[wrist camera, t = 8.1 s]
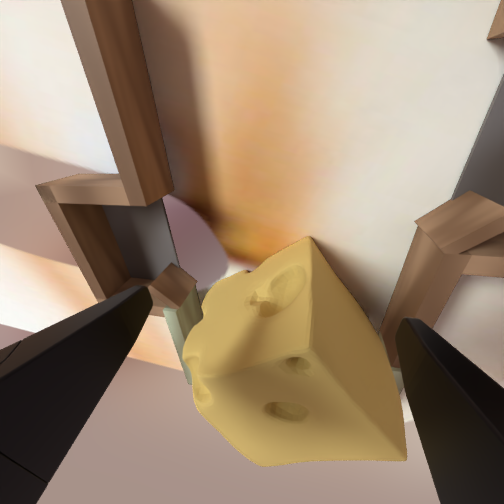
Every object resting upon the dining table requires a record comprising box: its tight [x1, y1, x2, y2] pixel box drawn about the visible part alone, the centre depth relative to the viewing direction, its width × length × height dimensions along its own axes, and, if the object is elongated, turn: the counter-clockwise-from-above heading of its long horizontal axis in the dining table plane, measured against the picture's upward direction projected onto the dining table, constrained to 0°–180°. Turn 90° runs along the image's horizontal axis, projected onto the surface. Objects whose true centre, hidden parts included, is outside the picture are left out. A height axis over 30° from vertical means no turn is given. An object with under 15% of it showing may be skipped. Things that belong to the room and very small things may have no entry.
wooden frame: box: [36, 0, 504, 395], centre depth 16 cm, size 33×31×4 cm
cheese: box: [182, 236, 407, 467], centre depth 16 cm, size 10×11×10 cm
